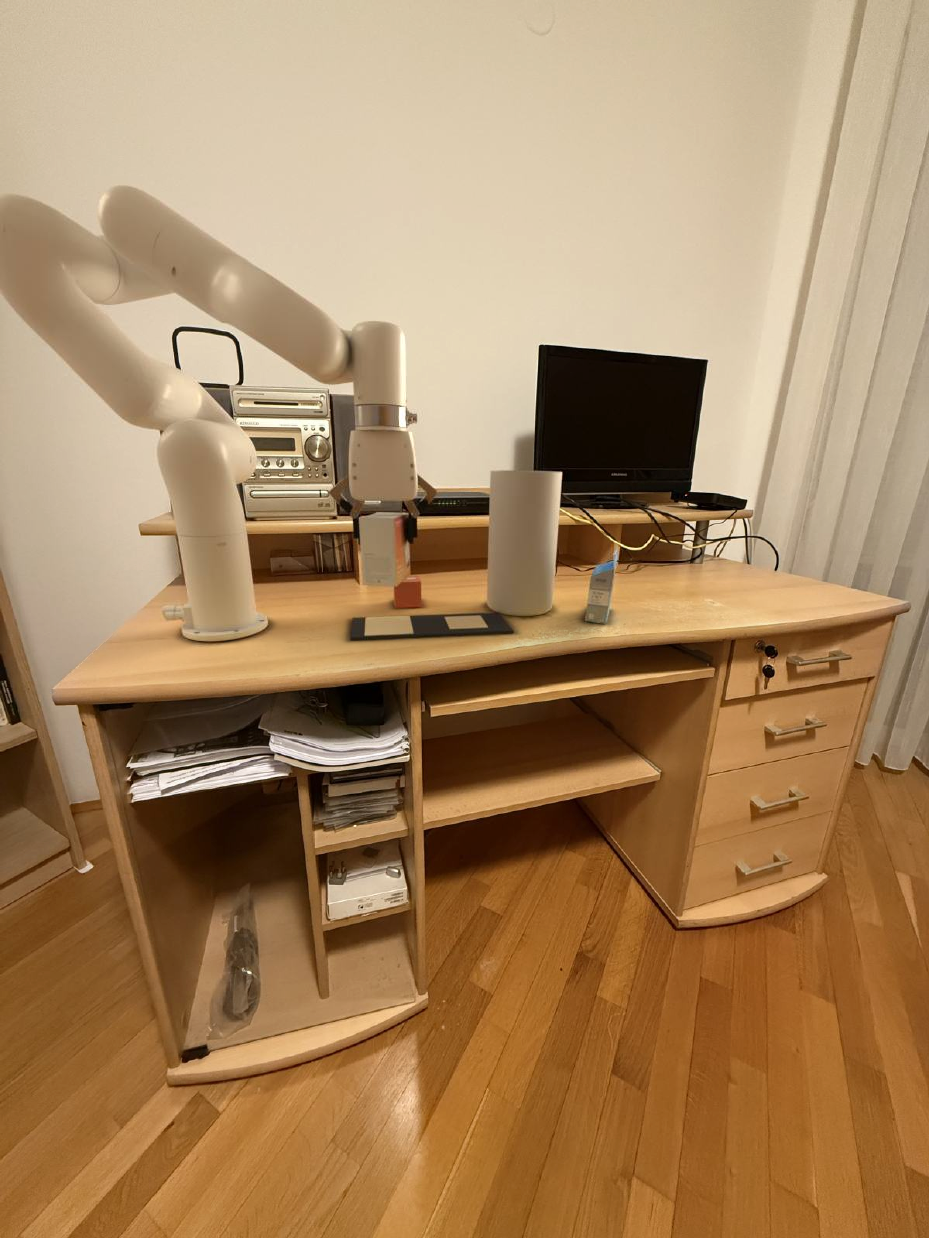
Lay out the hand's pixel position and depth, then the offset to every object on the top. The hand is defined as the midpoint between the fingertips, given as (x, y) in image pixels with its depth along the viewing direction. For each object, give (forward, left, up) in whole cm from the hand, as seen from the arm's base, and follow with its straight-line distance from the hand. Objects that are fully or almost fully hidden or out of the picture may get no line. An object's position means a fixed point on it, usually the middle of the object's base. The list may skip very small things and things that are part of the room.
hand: (385, 542), depth 77 cm
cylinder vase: (+25, +9, -14) cm, 30 cm away
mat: (+7, 0, -14) cm, 16 cm away
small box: (0, 0, -6) cm, 6 cm away
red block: (+4, +14, -14) cm, 20 cm away
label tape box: (+38, +2, -15) cm, 41 cm away
